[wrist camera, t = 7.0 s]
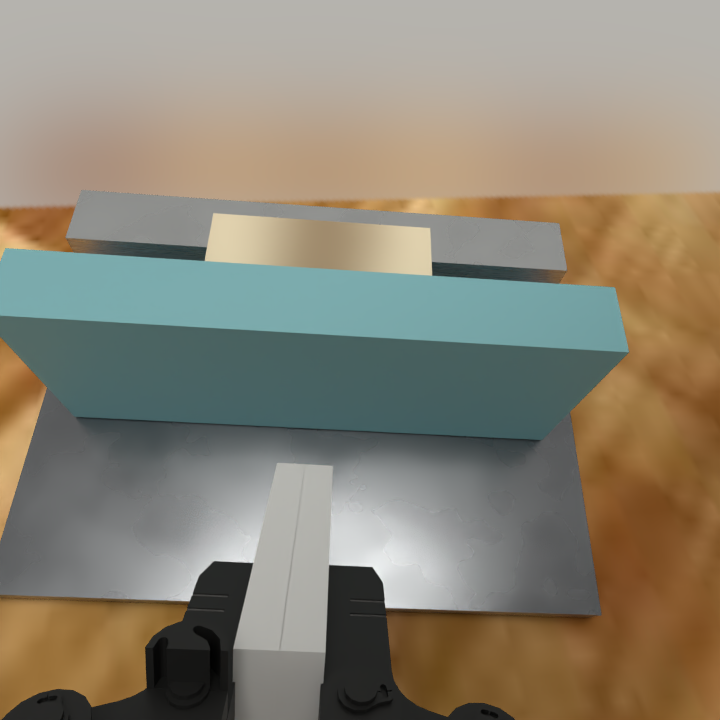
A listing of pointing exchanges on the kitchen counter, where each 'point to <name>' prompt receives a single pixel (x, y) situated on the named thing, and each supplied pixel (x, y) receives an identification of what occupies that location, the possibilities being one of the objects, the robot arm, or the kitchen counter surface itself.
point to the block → (319, 244)
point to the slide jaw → (306, 344)
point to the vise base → (301, 462)
